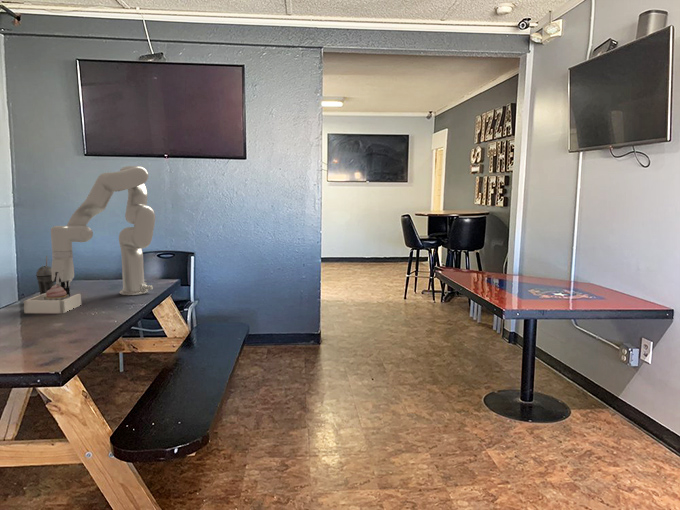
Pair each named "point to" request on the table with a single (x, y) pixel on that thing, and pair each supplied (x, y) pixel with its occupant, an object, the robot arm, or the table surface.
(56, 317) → the table surface
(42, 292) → the beverage cup
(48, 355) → the table surface
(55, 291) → the cupcake
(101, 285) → the table surface
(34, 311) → the box
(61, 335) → the table surface
